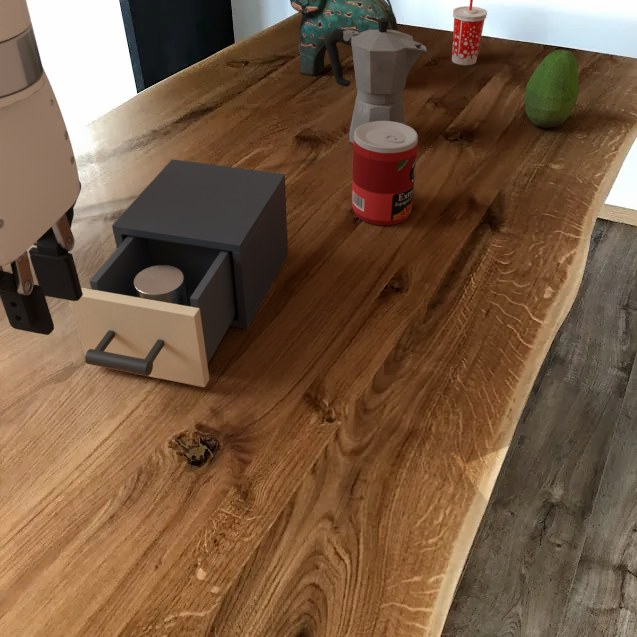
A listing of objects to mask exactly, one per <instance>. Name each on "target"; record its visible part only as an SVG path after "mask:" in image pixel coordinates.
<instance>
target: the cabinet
mask: <svg viewBox="0 0 637 637" xmlns="http://www.w3.org/2000/svg"><path fill="white" fill-rule="evenodd" d="M286 189H287V188H286V174H285V173H279V172H271V171H265V170H257V169H250V168H249V169H248V168H242V167H233V166H227V165H220V164H210V163H205V162H204V163H202V162H195V161H187V160H180V159H171V160H170V161H169V162H168V163H167V164H166V165H165V166H164V168H163V169H161V171H160V172H159V173H158V174H157V175H156V176H155V178H153V180H152V181H150V183H149V184H148V185H147V186H146V187H145V188H144V189H143V190H142V192H141V193H140V194H139V195H138V196H137V197H136V198H135V200H134V201H132V203H131V204H130V205H129V206H127V208H126V209H125V210H124V211H123V212H122V214H121V215H120V216H119V217H118V218H117V219H116V220H115V221H114V222H113V224H112V225H111V228H112V233H113V238H114V242H115V246H116V249H117V248H118V247H119V246H120V245H121V243H122V242H123V241H124V240H125V239H126V238H127V236H128V235H130V236H136V237H143V238H149V239H156V240H162V241H169V242H175V243H181V244H188V245H194V246H201V247H207V248H213V249H220V250H226V251H233V252H232V253H233V263H234V274H235V284H236V295H237V305H238V311H237V313H236V315H235V317H234V318H233V320H232V322H231V324H230V325H229V327H230V328H231V327H232V328H238V329H243V330H248V329H249V327H250V325H251V324H252V321H253V320H254V318H255V316H256V314H257V312H258V311H259V309H260V306H261V305H262V302H263V301H264V299H265V297H266V295H267V293H268V291H269V289H270V288H271V286H272V285H273V282H274V281H275V278H276V276H277V275H278V272H279V271H280V269H281V268H282V265H283V263H284V261H285V259H286V258H287V256H288V254H289V246H288V244H289V243H288V220H287V219H288V218H287V217H288V216H287V191H286Z"/></svg>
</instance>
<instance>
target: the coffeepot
mask: <svg viewBox="0 0 637 637" xmlns="http://www.w3.org/2000/svg"><path fill="white" fill-rule="evenodd" d="M388 22H389V19H387V18H379V19H378V26H379V30H367V31H364V32H361V33H359V32H357V31H353V30H343V29H338V28H337V29H334V30H333V31H332V32H331V34H330V35H329V36H328V37H327V38H326V40H325V46H326V49H327V50H326V52H327V56H328V59H329V62H330V65H331V68H332V73H333V76H334V79H335V82H336V84H337V85H339V86H341V87H349V86H350V84H351V80H350V79H349V80H348V79H346V78H344V76H343V66H342V63H341V61H340V54H339V48H338V46H337V43H342V44H344V45H347V46H350V47H351V52H352V60H353V69H354V78H355V87H356V89H357V92H356V93H357V94H356V97H355V101H354V106H353V112H352V116H351V123H350V127H349V139H348V140H349V143H351V144H352V145H353V143H354V132H355V130H356V128H358V127H359V126H361V125H362V124H365V123H369V122H374V121H392V122H398V123H402V124H405V118H404V116H405V114H404V105H403V104H404V103H403V90H404V89H405V88H406V83H407V79H408V74H409V72H411V70H412V69H413V67H414V65H415V64H416V63H417V61H418V60H419V58H420V57H421V56H422V55H423V54H426V53H427V51H428V49H427V47H426V46H425V45H423V43H421V42H419V41H415V40H414V38H413V37H414V36H413V35H410V34H408V33H405V32H401V31H399V30H398V31H396V30H387V27H388Z"/></svg>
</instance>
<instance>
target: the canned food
mask: <svg viewBox="0 0 637 637" xmlns="http://www.w3.org/2000/svg"><path fill="white" fill-rule="evenodd" d="M418 144H419V135H418V132H417V131H416V130H415V129H414V128H413V127H411V126H409V125H407V124H405V123H404V124H402V123H398V122H392V121H374V122H369V123H365V124H362V125H361V126H359V127H358V128H356V130H355V132H354V143H353V144H352V176H351V178H352V180H351V182H352V183H351V184H352V185H351V206H352V210H353V213H354V215H355V216H356V217H357V218H358V219H359V220H361V221H363V222H365V223H368V224H371V225H375V226H393V225H394V226H395V225H397V224H400V223H402V222H404V221H406V220H407V219H408V218H409V216H410V214H411V212H412V209H413V201H414V200H413V199H414V189H415V188H414V187H415V179H416V169H417V158H418V157H417V156H418V146H419V145H418Z"/></svg>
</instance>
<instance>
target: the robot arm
mask: <svg viewBox="0 0 637 637" xmlns="http://www.w3.org/2000/svg"><path fill="white" fill-rule="evenodd" d="M30 14H31V13H30V11H29V6H28V2H27V0H0V300H1V303H2V306H3V309H4V311H5V314H6V317H7V320H8V322H9V325H10V326H11V327H12V329H15V330H19V331H24V332H30V333H33V334H38V335H45V336H49V335H51V334H52V332H53V331H54V330H55V324H54V320H53V318H52V314H51V311H50V307H49V305H48V301H47V298H46V297H49V298H53V299H60V300H66V301H69V300H70V301H78V300H79V299H80V298H81V297H82V295H83V293H82V289H81V288H82V285H81V282H80V279H79V274H78V271H77V266H76V264H75V260H74V255H73V253H72V252H71V251H72V250H73V249H74V247H75V237H74V234H73V231H72V225H73V221H74V216H75V209H74V208H75V206H76V203H77V201H78V199H79V196H80V193H81V190H82V183H81V181H80V177H79V170H78V166H77V161H76V157H75V153H74V150H73V146H72V141H71V138H70V134H69V132H68V129H67V125H66V122H65V120H64V116H63V113H62V111H61V108H60V105H59V103H58V102H59V101H58V100H57V97H56V95H55V92H54V89H53V87H52V85H51V82H50V79H49V78H48V75H47V74H46V71H45V69H44V66H43V63H42V59H41V54H40V51H39V46H38V43H37V39H36V35H35V31H34V27H33V23H32V18H31V15H30ZM28 253H29V254H28ZM30 261H31V263H30ZM7 265H10V269H11V272H9V271H5V270H4V268H3V267H5V266H7ZM31 265H32V268H33V272H34V275H35V278H36V281H37V284H35V282H34V277H33V273H32V268H31Z"/></svg>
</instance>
